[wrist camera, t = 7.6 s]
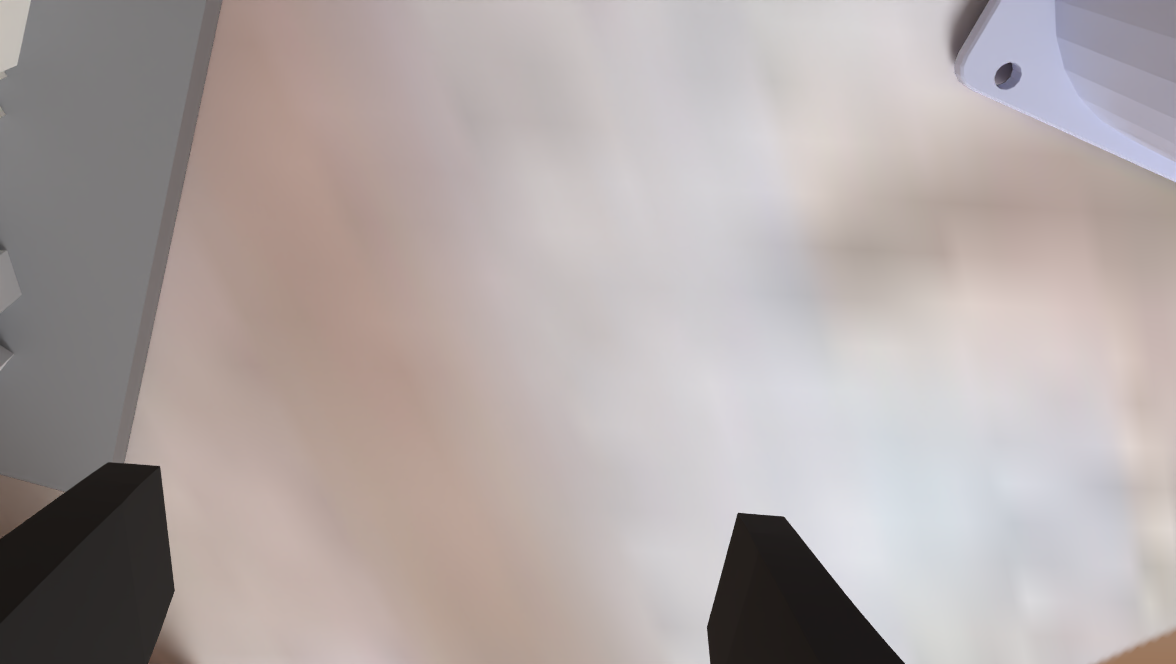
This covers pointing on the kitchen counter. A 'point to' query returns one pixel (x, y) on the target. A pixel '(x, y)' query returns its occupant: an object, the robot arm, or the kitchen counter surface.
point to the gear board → (89, 219)
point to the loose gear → (11, 33)
